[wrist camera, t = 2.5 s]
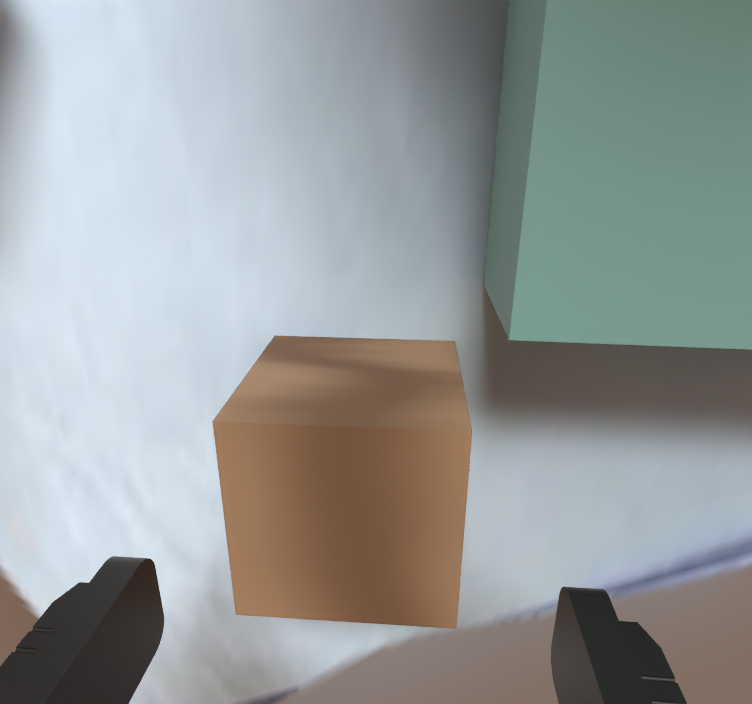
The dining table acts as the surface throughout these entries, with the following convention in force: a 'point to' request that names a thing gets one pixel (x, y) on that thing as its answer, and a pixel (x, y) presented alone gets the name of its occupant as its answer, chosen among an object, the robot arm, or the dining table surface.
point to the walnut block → (347, 481)
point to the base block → (624, 174)
